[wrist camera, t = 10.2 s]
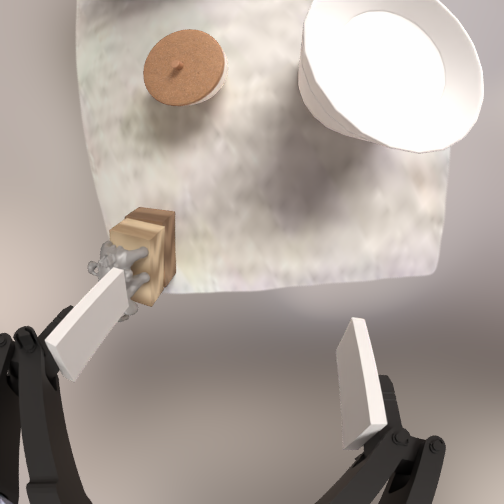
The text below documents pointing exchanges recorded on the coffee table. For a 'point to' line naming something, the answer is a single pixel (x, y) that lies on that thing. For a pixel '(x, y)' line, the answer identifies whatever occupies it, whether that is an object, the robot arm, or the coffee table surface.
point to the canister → (390, 72)
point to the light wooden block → (152, 238)
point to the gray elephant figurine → (124, 261)
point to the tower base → (168, 221)
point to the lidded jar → (185, 68)
